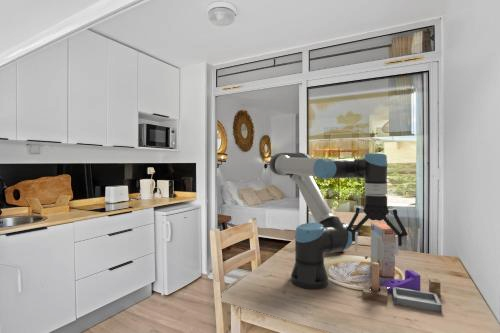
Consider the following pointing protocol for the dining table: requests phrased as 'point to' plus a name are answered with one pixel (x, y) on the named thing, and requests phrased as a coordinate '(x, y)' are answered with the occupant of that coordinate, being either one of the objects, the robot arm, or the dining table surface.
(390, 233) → the cracker box
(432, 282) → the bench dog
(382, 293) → the dowel block
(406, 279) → the bracket
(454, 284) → the dining table surface
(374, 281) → the dowel
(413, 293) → the tray
